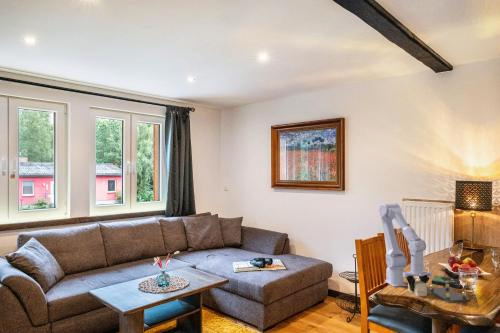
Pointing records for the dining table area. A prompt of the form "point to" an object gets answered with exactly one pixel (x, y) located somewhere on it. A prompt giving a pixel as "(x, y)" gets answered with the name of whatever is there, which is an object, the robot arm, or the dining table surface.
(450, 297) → the chassis
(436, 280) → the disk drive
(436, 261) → the dining table surface
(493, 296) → the dining table surface
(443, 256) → the dining table surface
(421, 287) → the module block
